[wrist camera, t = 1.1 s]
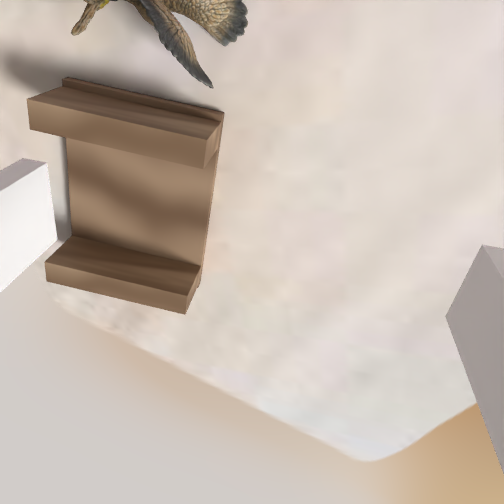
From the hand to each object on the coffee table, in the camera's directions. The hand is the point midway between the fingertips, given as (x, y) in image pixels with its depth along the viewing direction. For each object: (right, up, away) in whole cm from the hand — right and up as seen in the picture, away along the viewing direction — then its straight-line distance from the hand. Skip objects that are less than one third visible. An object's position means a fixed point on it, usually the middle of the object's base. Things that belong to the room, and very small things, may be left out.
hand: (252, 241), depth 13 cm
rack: (-9, +5, +22) cm, 25 cm away
